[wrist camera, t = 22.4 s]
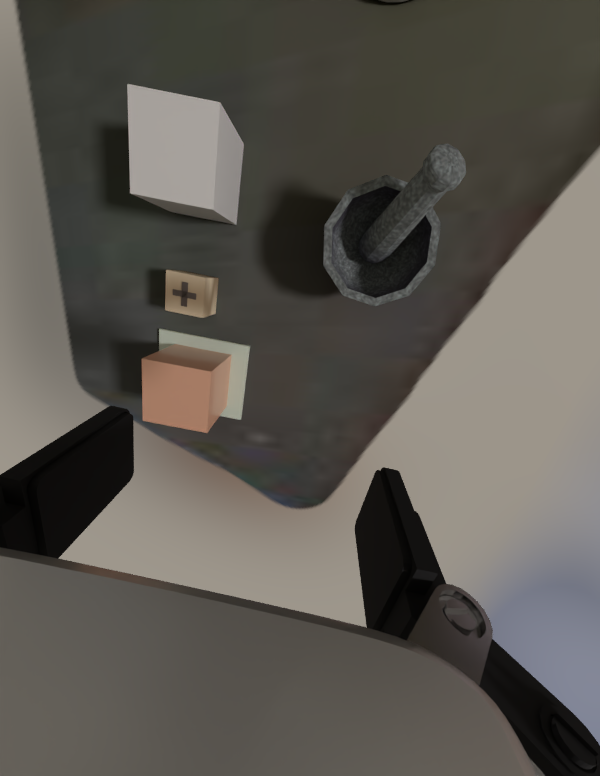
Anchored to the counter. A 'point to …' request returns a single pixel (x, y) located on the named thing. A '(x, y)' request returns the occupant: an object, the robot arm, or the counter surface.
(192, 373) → the orange-brown cube
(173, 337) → the sage pad
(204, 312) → the tan plus cube
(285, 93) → the counter surface
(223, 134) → the white cube
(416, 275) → the mortar and pestle
